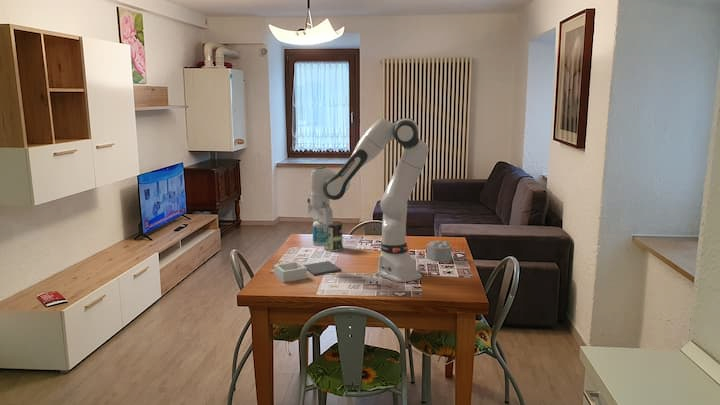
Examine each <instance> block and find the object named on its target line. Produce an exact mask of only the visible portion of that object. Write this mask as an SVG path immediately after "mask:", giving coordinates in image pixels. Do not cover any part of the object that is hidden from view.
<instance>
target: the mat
mask: <svg viewBox="0 0 720 405" xmlns="http://www.w3.org/2000/svg"><path fill="white" fill-rule="evenodd" d="M302 265H303V266H305V267H306V268H307V273H310V274H311V275H312V276H320V275H325V274H326V275H327V274H330V273H337V272H341V271H342V268H341V267H339V266H337V265H336V264H334V263H333V262H330V261H329V260H325V261H320V262H313V263H308V264H302Z"/></svg>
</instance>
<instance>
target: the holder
mask: <svg viewBox="0 0 720 405" xmlns="http://www.w3.org/2000/svg"><path fill="white" fill-rule="evenodd" d="M303 265H304V264H302V263H300V262H299V261H297V260H296V261H289V262H284V263H277V264H274V265H273V267H274V268H273V270H274V271H273V272H274V273H273V275H274V277H276V278H277V279H278V280H280V281H281V282H282V283H289V282H293V281H294V282H295V281H299V280H305V279H308V271H307V268H306V267H305V266H303Z"/></svg>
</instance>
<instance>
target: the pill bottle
mask: <svg viewBox="0 0 720 405" xmlns="http://www.w3.org/2000/svg"><path fill="white" fill-rule="evenodd" d="M323 226H324V225H323V223H321V222H319V221H318V218H317V217H316V221H315V222H314V221H313V223H312V245H313V246H315V247H324V246H327V245H328V232H329V225H328V228H327V232H325V233H324V232H322V228H323Z"/></svg>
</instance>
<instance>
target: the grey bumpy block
mask: <svg viewBox="0 0 720 405" xmlns="http://www.w3.org/2000/svg"><path fill="white" fill-rule="evenodd" d="M452 251H453V246H452V245H451V244H450V243H449V241H447V240H443V241H441V240H439V239H438V240H432V241H430V242H427V244H426V258H427V259H428V260H431V261H433V262H436V263H450V262H451V261H452V253H453V252H452Z"/></svg>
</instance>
